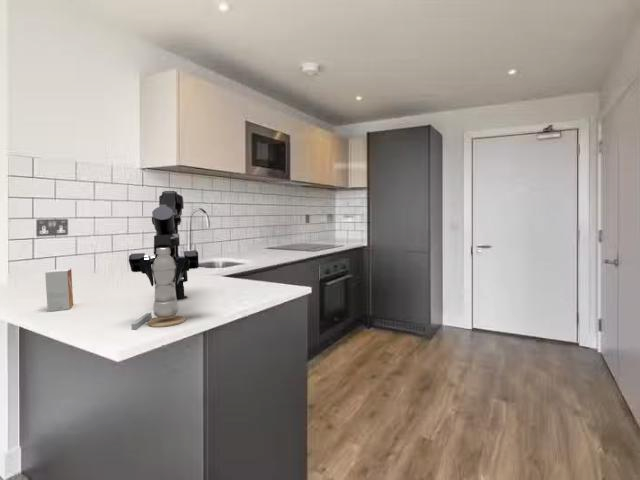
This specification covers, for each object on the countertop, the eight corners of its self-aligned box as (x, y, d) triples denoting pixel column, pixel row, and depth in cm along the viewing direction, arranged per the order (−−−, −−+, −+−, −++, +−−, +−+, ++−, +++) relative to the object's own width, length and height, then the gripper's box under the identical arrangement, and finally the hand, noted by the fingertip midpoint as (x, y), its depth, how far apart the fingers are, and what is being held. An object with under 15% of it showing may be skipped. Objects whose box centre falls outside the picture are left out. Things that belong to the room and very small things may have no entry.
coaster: (139, 324, 105) (139, 322, 105) (167, 316, 115) (167, 314, 114) (165, 328, 101) (165, 326, 101) (192, 319, 110) (192, 317, 110)
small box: (70, 309, 126) (67, 270, 125) (47, 311, 123) (44, 272, 122) (73, 304, 133) (71, 268, 132) (52, 306, 130) (49, 269, 129)
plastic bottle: (152, 315, 109) (149, 247, 108) (177, 312, 112) (174, 246, 111) (154, 321, 104) (151, 249, 102) (180, 317, 107) (177, 247, 105)
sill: (136, 329, 101) (136, 323, 101) (131, 329, 101) (131, 324, 101) (151, 317, 113) (151, 312, 113) (147, 317, 113) (147, 312, 113)
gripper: (128, 225, 107) (122, 269, 97) (196, 223, 113) (198, 265, 103) (133, 250, 115) (129, 293, 105) (198, 247, 121) (199, 288, 111)
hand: (164, 284), depth 106 cm, fingers closed on plastic bottle, 6 cm apart
